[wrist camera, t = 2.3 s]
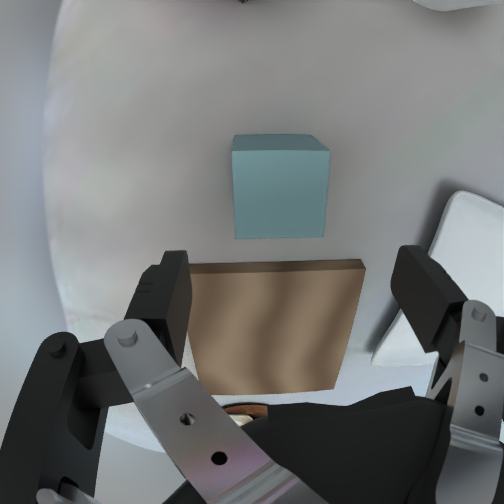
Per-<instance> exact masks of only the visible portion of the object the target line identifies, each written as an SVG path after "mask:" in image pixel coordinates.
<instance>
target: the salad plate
mask: <svg viewBox="0 0 504 504" xmlns="http://www.w3.org/2000/svg"><path fill="white" fill-rule="evenodd" d="M428 255H429V256H430V257H431V258H432V259H434V260H435V261H436V262H438V263H439V264H441V266H442V267H443V268H444V269H445V270H446V272H447V274H449V275H450V276H451V278H452V280H454V281H455V283H456V284H457V285H458V286H459V288H460V289H461V290H462V291H463V293H464V294H465V295H466V296H467V298H468V299H469V300H478V301H481V302H483V303H485V304H486V305H488V306H489V307H490V308H491V309H492V310H493V312H494V313H495V316H501V317H504V207H503V206H501V205H499V204H496V203H494V202H492V201H490V200H488V199H486V198H483V197H481V196H479V195H476V194H474V193H471V192H468V191H463V190H460V191H457V192H455V193H454V194H453V195H452V196H451V197H450V198H449V200H448V202H447V204H446V207H445V209H444V211H443V214H442V217H441V220H440V223H439V226H438V229H437V231H436V234H435V237H434V239H433V242H432V244H431V247H430V249H429V251H428ZM437 356H438V352H437V351H436V352H431V353H426V354H425V352H424V350H423V348H422V346H421V345H420V343H419V341H418V339H417V337H416V335H415V333H414V331H413V330H412V328H411V326H410V324H409V322H408V320H407V319H406V317H405V315H404V313H403V311H402V310H401V308H400V310H399V312H398V314H397V315H396V317H395V319H394V320H393V322H392V324H391V325H390V327H389V328H388V330H387V331H386V333H385V335H384V336H383V338H382V339H381V341H380V342H379V344H378V346H377V347H376V349H375V351H374V353H373V356H372V359H371V365H372V366H376V367H392V366H412V365H426V364H434V363H435V360H436V358H437Z"/></svg>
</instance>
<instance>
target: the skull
mask: <svg viewBox="0 0 504 504" xmlns="http://www.w3.org/2000/svg"><path fill="white" fill-rule="evenodd" d="M224 411H225V412H226V413H227V414H228V415H229V416H230V417H231V418H232V419H233V420H234V421H235V423H236V424H237V425H238V426H239V427H240V426H242V425H244V424H246V423H248V422H250V421H252V420H255V419H257V418H260V417H263V416H267V406H262V405H242V406H235V407H228V408H226V409H224Z"/></svg>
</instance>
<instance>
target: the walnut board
mask: <svg viewBox="0 0 504 504" xmlns="http://www.w3.org/2000/svg"><path fill="white" fill-rule="evenodd" d="M189 269H190V276H191V283H192V305H191V311H190V317H189V322H188V328H187V332H188V336H189V341H190V345H191V350H192V354H193V358H194V362H195V367H196V371H197V375H198V379H199V382H200V383H201V384H202V386H203V387H204V388H205V389H206V390H207V391H208V393H209V394H210V395H260V394H282V393H297V392H309V391H320V390H330V389H334V386H335V383H336V380H337V377H338V374H339V371H340V367H341V364H342V361H343V357H344V354H345V351H346V347H347V344H348V340H349V336H350V333H351V329H352V325H353V321H354V318H355V314H356V310H357V306H358V302H359V298H360V293H361V289H362V285H363V280H364V276H365V271H366V268H365V266H364V264H363V262H362V261H361V259H356V260H326V261H293V262H257V263H216V264H189Z"/></svg>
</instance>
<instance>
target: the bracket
mask: <svg viewBox="0 0 504 504" xmlns="http://www.w3.org/2000/svg"><path fill="white" fill-rule="evenodd" d="M412 1H414V2H415V3H417V4H419V5H422V6H424V7H426V8H429V9H433V10H437V11H452V10H458V9H464V8H470V7H477V6H485V5H494V4H504V0H412Z"/></svg>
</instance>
